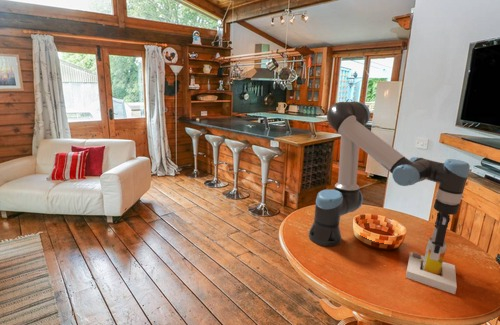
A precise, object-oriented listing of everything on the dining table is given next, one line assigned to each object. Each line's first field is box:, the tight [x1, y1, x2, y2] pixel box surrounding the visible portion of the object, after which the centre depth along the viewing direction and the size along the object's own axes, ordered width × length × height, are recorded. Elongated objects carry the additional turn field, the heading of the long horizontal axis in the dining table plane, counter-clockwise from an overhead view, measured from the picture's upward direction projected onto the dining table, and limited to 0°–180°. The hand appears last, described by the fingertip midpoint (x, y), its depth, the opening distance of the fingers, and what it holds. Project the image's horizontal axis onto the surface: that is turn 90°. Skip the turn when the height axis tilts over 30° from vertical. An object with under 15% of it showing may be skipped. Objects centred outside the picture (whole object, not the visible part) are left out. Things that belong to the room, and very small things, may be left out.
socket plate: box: [405, 251, 458, 295], centre depth 114 cm, size 16×16×4 cm
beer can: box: [421, 237, 448, 276], centre depth 112 cm, size 6×6×15 cm
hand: (434, 251), depth 112 cm, fingers open, 13 cm apart
